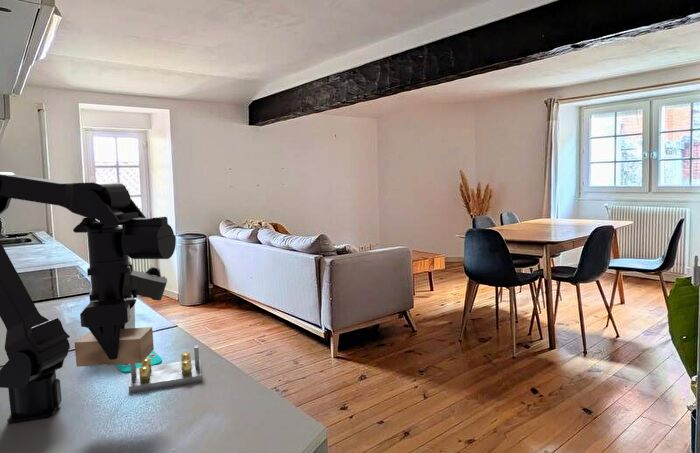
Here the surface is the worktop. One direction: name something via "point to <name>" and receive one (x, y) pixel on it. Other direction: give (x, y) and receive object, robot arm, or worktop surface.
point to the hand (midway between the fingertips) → (116, 351)
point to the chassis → (165, 373)
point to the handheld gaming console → (127, 367)
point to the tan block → (131, 350)
